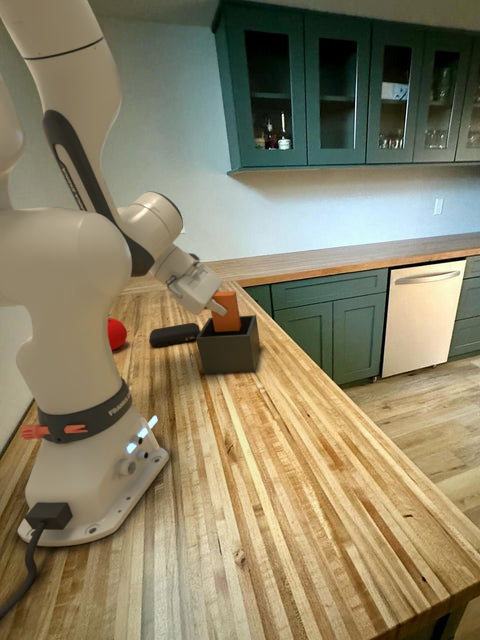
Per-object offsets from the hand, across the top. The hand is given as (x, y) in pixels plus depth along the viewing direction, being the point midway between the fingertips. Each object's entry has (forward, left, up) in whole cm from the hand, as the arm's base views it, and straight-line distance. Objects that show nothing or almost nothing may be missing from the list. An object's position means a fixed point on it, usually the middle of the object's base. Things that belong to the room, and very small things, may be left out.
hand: (227, 309), depth 82 cm
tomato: (+12, +39, -14) cm, 43 cm away
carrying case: (+16, +21, -14) cm, 30 cm away
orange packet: (0, +1, -5) cm, 5 cm away
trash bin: (0, +1, -14) cm, 14 cm away
